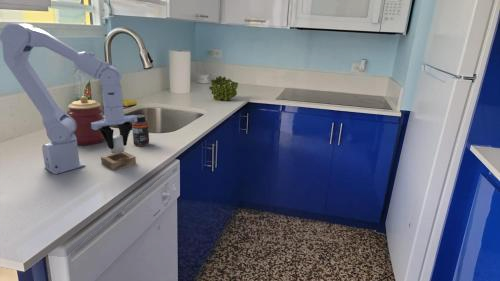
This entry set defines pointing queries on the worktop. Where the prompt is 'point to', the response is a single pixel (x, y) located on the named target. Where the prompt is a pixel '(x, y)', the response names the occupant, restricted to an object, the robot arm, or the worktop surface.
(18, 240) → the worktop surface
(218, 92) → the green broccoli head
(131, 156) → the socket block
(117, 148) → the plug
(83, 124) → the canister
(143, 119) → the supplement bottle
